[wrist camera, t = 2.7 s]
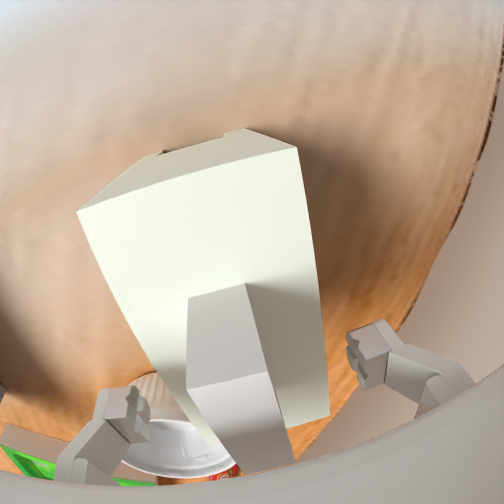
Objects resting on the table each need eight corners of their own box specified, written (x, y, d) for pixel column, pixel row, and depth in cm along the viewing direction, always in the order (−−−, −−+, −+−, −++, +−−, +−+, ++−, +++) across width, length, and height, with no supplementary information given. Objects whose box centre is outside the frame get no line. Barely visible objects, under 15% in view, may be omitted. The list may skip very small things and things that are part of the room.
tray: (155, 454, 35) (154, 483, 31) (160, 500, 45) (161, 520, 41) (7, 420, 30) (-2, 443, 26) (50, 479, 40) (47, 497, 35)
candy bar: (226, 487, 43) (228, 500, 41) (206, 487, 43) (207, 501, 40) (237, 451, 37) (240, 468, 34) (211, 451, 36) (213, 469, 33)
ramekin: (99, 405, 29) (89, 454, 23) (145, 339, 26) (136, 400, 19) (195, 440, 34) (198, 486, 28) (259, 389, 31) (272, 442, 24)
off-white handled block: (143, 156, 19) (13, 274, 5) (244, 128, 19) (360, 174, 5) (201, 320, 25) (215, 506, 11) (281, 299, 26) (353, 473, 11)
